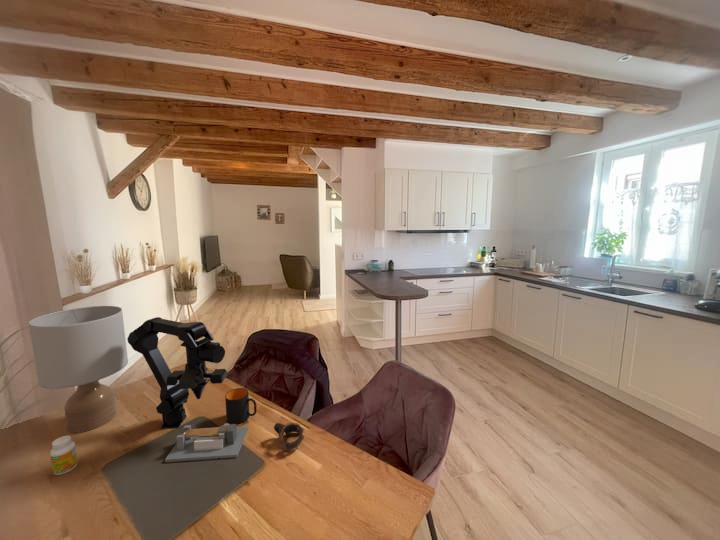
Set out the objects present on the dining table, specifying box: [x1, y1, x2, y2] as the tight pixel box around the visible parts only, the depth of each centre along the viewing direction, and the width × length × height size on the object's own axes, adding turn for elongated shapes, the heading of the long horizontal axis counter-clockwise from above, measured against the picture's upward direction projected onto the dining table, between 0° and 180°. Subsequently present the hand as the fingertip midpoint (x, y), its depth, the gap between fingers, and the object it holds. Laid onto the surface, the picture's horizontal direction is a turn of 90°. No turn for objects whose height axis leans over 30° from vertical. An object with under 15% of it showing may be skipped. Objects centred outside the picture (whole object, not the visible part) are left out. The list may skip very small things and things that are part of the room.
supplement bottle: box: [49, 435, 79, 476], centre depth 88 cm, size 5×5×10 cm
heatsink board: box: [164, 423, 249, 463], centre depth 98 cm, size 22×13×6 cm, turn 96°
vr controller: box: [273, 422, 305, 453], centre depth 100 cm, size 12×10×8 cm
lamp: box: [28, 305, 129, 433], centre depth 107 cm, size 24×24×42 cm
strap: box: [180, 424, 229, 438], centre depth 98 cm, size 15×3×2 cm, turn 96°
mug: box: [224, 387, 258, 426], centre depth 112 cm, size 8×12×10 cm
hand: (199, 398), depth 104 cm, fingers closed
